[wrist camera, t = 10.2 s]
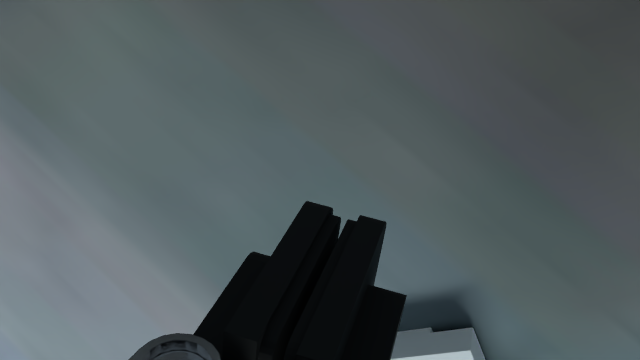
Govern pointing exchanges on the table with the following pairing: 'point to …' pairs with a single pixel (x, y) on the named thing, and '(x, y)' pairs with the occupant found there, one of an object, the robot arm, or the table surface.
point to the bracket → (437, 345)
